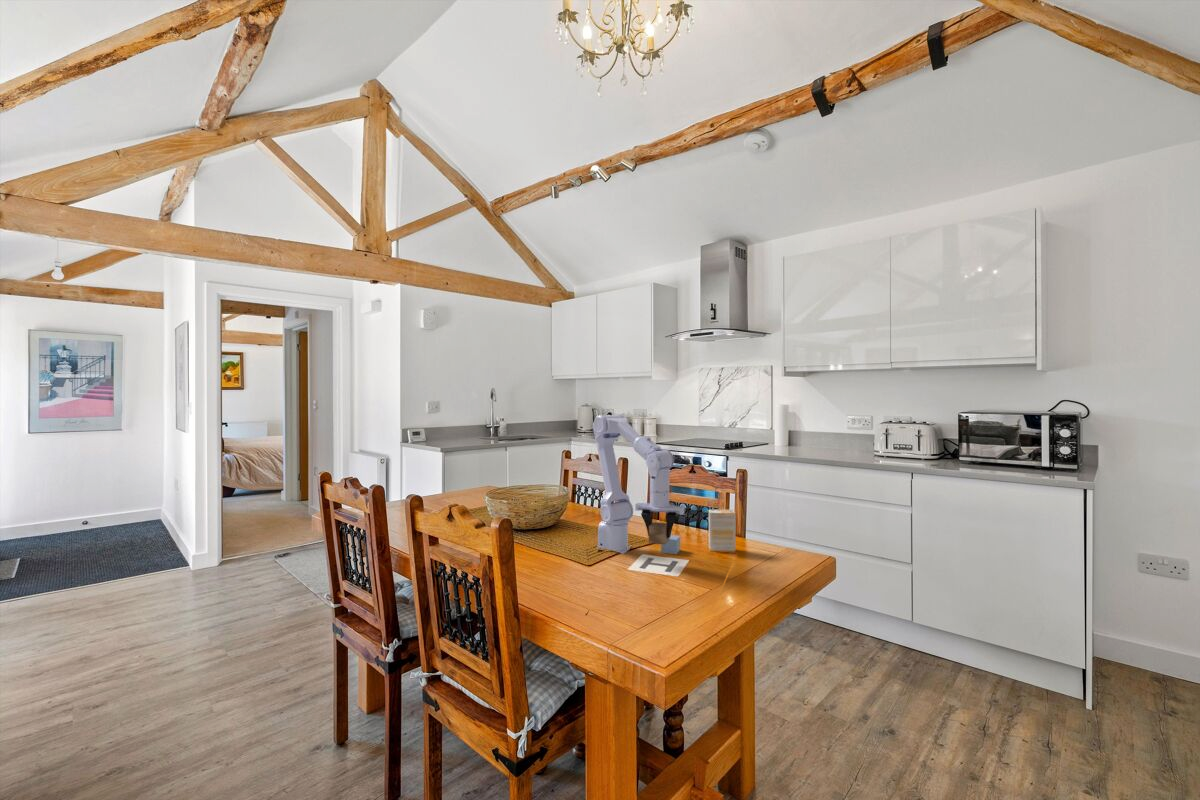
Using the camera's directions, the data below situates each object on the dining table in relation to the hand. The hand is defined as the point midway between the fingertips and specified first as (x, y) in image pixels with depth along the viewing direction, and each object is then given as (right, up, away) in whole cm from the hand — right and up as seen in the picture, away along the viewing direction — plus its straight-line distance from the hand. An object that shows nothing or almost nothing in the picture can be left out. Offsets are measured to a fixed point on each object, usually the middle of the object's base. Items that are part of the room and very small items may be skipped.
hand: (659, 536), depth 162 cm
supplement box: (+22, -9, +15) cm, 28 cm away
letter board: (0, -9, 0) cm, 9 cm away
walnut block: (0, -2, 0) cm, 2 cm away
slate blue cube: (+5, -9, +13) cm, 17 cm away
